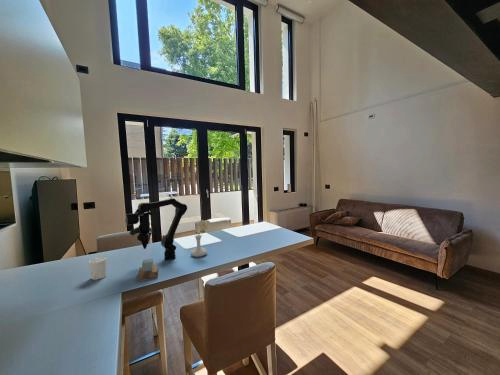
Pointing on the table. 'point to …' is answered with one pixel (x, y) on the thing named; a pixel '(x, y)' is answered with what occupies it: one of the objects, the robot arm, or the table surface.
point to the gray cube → (147, 265)
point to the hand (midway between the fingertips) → (145, 246)
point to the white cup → (98, 268)
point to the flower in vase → (199, 250)
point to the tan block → (148, 273)
